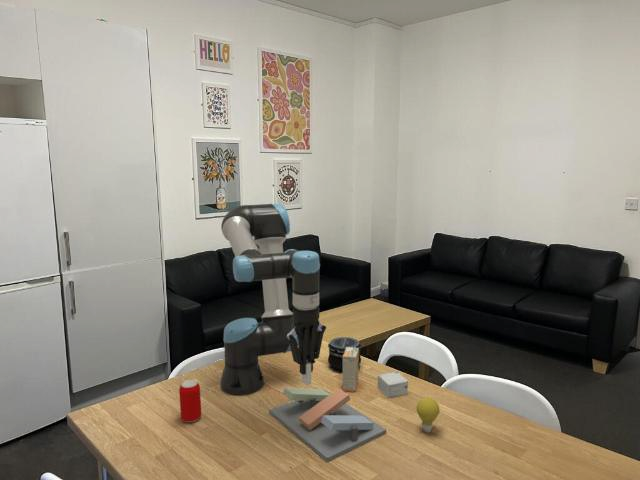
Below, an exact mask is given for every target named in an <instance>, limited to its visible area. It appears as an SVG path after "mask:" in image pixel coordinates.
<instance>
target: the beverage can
mask: <svg viewBox="0 0 640 480" xmlns="http://www.w3.org/2000/svg"><path fill="white" fill-rule="evenodd" d="M178 389H179V390H178V392H179V407H180V408H179V409H180V410H179V412H180V419H181V420H182V421H184V422H185V423H194V422H197V421H198V420H200V419H201V417H202V400H201V398H202V397H201V386H200V384H199V382H198V381H197V380H194V379H187V380H185V381H183V382H181V384H180V386H179V388H178Z"/></svg>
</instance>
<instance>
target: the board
mask: <svg viewBox="0 0 640 480" xmlns="http://www.w3.org/2000/svg"><path fill="white" fill-rule="evenodd" d="M323 390H324V391H326V392H327V393H329V394H332V393H331V392H330V391H328V390H326V389H323ZM319 402H321V401H316V398H315V397H314V398H311V399H310V402H309V401H299V400H291V401H290V402H287V403H284V404H281V405H279V406H277V407H276V406H275V407H274V408H271V409H269V414H270V416H272V417H273V418H274V419H275V420H277V421H278V422H279V423H280V424H282V425H283V427H285V428H286V429H287V430H289V432H291V433H292V434H293V435H294V436H296V437H297V438H298V439H299V440H300V441H302V442H303V444H305V445H306V446H307V447H309V448H310V449H311V450H312V451H313V452H315V454H317V455H318V456H319V457H321V458H322V459H323V460H324V461H325V462H326V463H328V462H330V461H332V460H335V459H337V458H339V457H341V456H342V455H345V454H347V453H349V452H351V451H353V450H355V449H357V448H359V447H361V446H363V445H365V444H367V443H370V442H372V441H373V440H376V439H378V438H380V437H381V436H383V435H386V434H387V429H386V428H384V426H381V425H380V424H379V423H377V422H376V421H374V420H373V419H371V418H370V417H368V416H367V415H365V414H364V413H362V412H360V411H358V410H357V409H356V408H354V407H352V406H351V405H350V404H348V403H346V404H344V405H343V406H342V407H340V408H339V409H338V410H336V411H332V412H330V415H359V416H364V417H365V418H367V419H368V420H370V421H371V422H373V423H374V424H373V427H372V430H358V427H357V426H355V427H352V431H350V430H330V429H329V428H328V427H326V426H325V425H324V424H322V423H321V422H320V423H319V424H318V425H316V426H315V427H314V428H312V429H311V430H309V429H308V428H307V427H305V426H304V425H303V424H301V423H300V420H299V417H300V416H301V415H303V414H304V413H305V412H307V411H308V410H310V409H311V408H312V407H314V406H315V405H316V404H318V403H319Z"/></svg>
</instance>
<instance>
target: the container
mask: <svg viewBox="0 0 640 480" xmlns="http://www.w3.org/2000/svg"><path fill="white" fill-rule="evenodd" d="M327 347H328V353H329V354H328V358H327V362H328V364H329V367H330V369H331V370H332V371H335V372H337V373H341V374H343V354H344V352H345V349H346V347H353V348H359V360H358V369H360V364H361V361H362V358H361V357H362V356H361V354H360V353H361V348H362V344H361V343H360V341H359V340H358V339H356V338H354V337H348V336H342V337H336V338H333V339H331V340H330V341H329V343H328V345H327Z"/></svg>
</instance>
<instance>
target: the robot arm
mask: <svg viewBox="0 0 640 480" xmlns="http://www.w3.org/2000/svg"><path fill="white" fill-rule="evenodd" d="M220 227H221V232H222V235H223V237H224V238H225V239H226V240H227V241H228V242H229V244H230V247H231V249H232V252H233V254H234V258H233V260H232V273H233V278H234V280H235V281H236V282H239V283H243V282H247V283H250V282H255V281H256V282H257V281H262V292H263V293H262V294H263V304H264V313H263V314H262V315H261V321H260V322H258V321H257V319H256V318H254V317H242V318H238V319H234V320H232V321H231V322H229V323H228V324H226V326H225V327H224V329H223V343H224V348H223V349H224V368H223V372H222V375H221V378H220V389H221V390H222V391H223V392H224V393H226V394H229V395H235V396H244V395H250V394H253V393H256V392H258V391H260V390H261V389H263V387H264V385H265V382H264V381H265V378H264V374H263V371H262V370H261V366H260V364H259V357H261V356H268V355H274V354H275V355H276V354H286V353H288V352H289V353H290V352H291V357H292V359H293V360H292V361H293V362H294V363H296V364H298V365H299V374H301V383H302V384H304V385H305V386H310V385H311V384H312V373H313V371H314V364H315V363H316V359H319V358H320V353H321V349H322V344H323V338H324V333H325V331H326V329H327V326H326V325H324V324H323V323H320V270H321V269H320V267H321V263H320V255H319V253H317V252H316V251H312V250H297V249H293V248H291V249H287V250H285V251H284V247H283V243H284V242H285V241H286V240H287V235H289V234H290V232H291V222H290V217H289V214H288V211H287V209H286V207H285V206H284V205H282V204H279V203H274V204H273V203H262V204H261V203H260V204H243V205H238V206H236V207H233V208H232V209H231V210H229V211H228V212H227V213H226V214H225V215H224V217H223V218H222V222H221V226H220ZM290 278H291V279H292V305H293V307H292V310H290V308H289V299H288V287H287V286H288V285H287V279H290Z"/></svg>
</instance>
